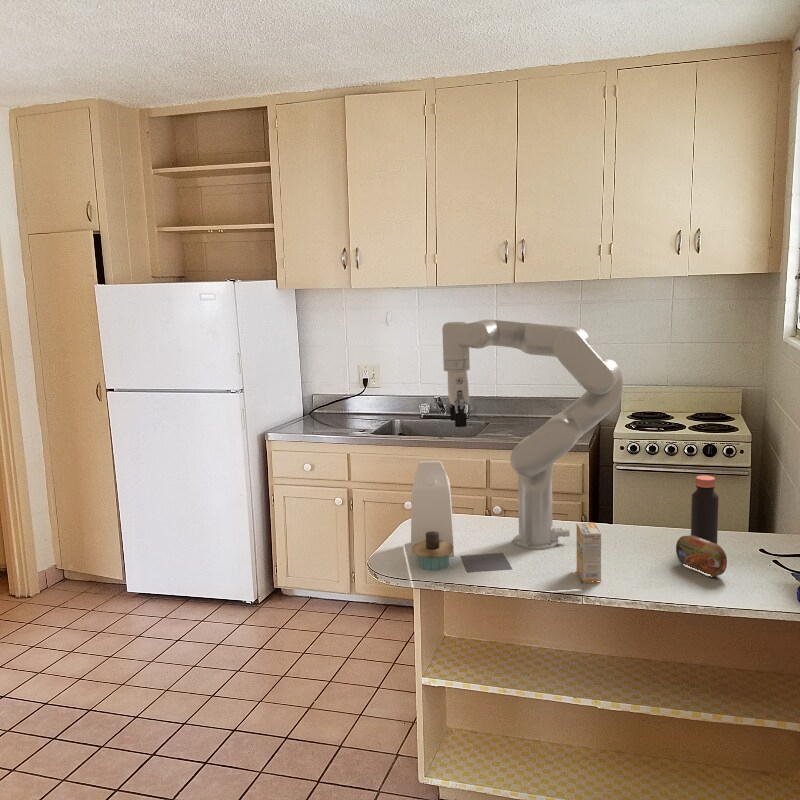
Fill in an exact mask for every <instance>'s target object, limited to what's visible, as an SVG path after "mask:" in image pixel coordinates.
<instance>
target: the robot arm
mask: <svg viewBox="0 0 800 800" xmlns="http://www.w3.org/2000/svg"><path fill="white" fill-rule="evenodd" d="M441 331H442V356H443V357H442V359H443V363H442V364H443V371H444V372H447V393H448V395H447V396H448V401H449V402H450V403H449V405H450V407H449V415H450V416H449V417H450V418H449V419H450V421H451V422H452V421H453V422H454V426H455V427H456V428H465V427H467V411H466V406H469V405H470V393H469V377H468V371H470V370H471V365H470V363H471V362H470V349H484V348H486V347H489V346H497V347H503V348H504V347H506V348H512V349H517V350H520V351H521V352H523V353H525V354H528V355H533V356H545V357H554V358H557V360H558V361H559V362H560V364H561V365H562V366H563V367H564V368H565V369H566V370H567V372H568V373H569V374H570V375H571V376H573V378H574V380H576V381H577V382H578V384H579V385H580V386H581V387H582V388H583V389H584V390H585V392H584V393H583V394H582V395H580V397H578V398H577V399H576V400H575V401H574V402H573V403H571V404H570V405H568V406H567V407H566V408H564V409H563V410H562V411H560V412H558V413H557V414H555V415H553V416H552V417H550V418H549V419H548V420H547V421H546V422H545V423H544V424H542V426H540V427H539V428H538V429H536V430H535V431H534V432H532V433H531V434H529V435H528V436H525V437H524V438H523V439H521V441H519V443H518V444H516V445H515V447H514V448H513V449H512V451H511V453H510V459H509V460H510V466H511V468H512V470H513V471H514V472H515V473H516V474H518V478H517V479H518V482H517V487H518V490H517V494H518V496H517V498H518V500H517V501H518V534H517V535H515V536H514V537H513V543H514V545H515V546H517V547H519V548H522V549H526V550H536V551H537V550H539V551H540V550H548V549H552V548H556V547H557V546H558V545H559V539H558V538H559V537H560V538H561V537H566V538H567V537H570V530H569V529H563V528H562V527H560V528H559V527H558V528H555V527H554V526H553V472H554V470H553V469H554V463H555V462H556V461H558V460H559V459H560V458H562V457H563V456H564V455H566V454H567V453H568V452H570V450H572V449H573V447H574V446H575V445H576V444H577V442H579V439H580V438H582V436H584V435H585V434H586V433H587V432H589V431H591V430H592V429H593V428H594V427H595V426H596V425H597V424H599V423H600V422H601V421H602V420H603V419H605V418H607V416H609V414H610V413H611V412H612V410H614V409H615V407H616V406H617V404H618V402H619V400H620V399H621V396H622V392H623V384H624V383H623V382H624V381H623V374H622V370H621V368H620V366H619V365H618V363H616V361H614V360H613V359H610V358H604V357H603V358H601V357H600V355H598V354H597V353H596V351H595V350H593V348H592V347H591V345H590V337H589V335H588V333H587V332H586V331H585V330H584V329H582V328H579V327H574V326H565V325H556V324H555V325H552V324H543V323H541V324H540V323H533V322H532V323H531V322H520V321H509V320H499V319H483V320H479V321H474V322H469V323H468V322H465V321H450V322H445V323H444V324H443V326H442V329H441Z"/></svg>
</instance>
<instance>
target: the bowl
mask: <svg viewBox="0 0 800 800" xmlns="http://www.w3.org/2000/svg"><path fill="white" fill-rule="evenodd" d="M449 557H450V556H448V555H446V556H443V557H436V558H427V557H421V556H417V560H418V561H417V563H418V565H417V566H418V567H419V568H420V569H423V570H425V571H426V570H427V571H440V570H443V569H446V568H447V567H448V566H450V562H449V561H450V559H449Z"/></svg>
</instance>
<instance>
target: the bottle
mask: <svg viewBox="0 0 800 800" xmlns="http://www.w3.org/2000/svg"><path fill="white" fill-rule="evenodd" d="M715 486H716V478H715V477H714V476H712V475H711V476H710V475H698V476H696V477H695V487H696V490H695V491H694V492H693V493H692V494H691V505H690V506H691V509H690V510H691V512H690V513H691V514H690V517H691V519H690V535H693V536H697V537H699V538H702V539H704V540H707V541H710V542H712V543H715V544H717V545H718V531H719V530H718V527H719V495H718V494H717V493H716V491H714V489H715V488H716V487H715Z"/></svg>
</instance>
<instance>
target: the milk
mask: <svg viewBox="0 0 800 800" xmlns="http://www.w3.org/2000/svg"><path fill="white" fill-rule="evenodd" d="M411 489H412V490H411V506H410V509H411V510H410V511H411V514H410V517H411V518H410V519H411V521H410V534H411V535H410V557H418V556H417V555H415V554H414V553H413V552H412V547H413V545H415V544H416V543H419V542H422V541H426V533H427V532H432V531H434V532H438V533H439V540H440V541H446V542H449V543H451V544H452V545H453V552H452V553H451V554H449V555H448V556H449V557H455V536H454V535H455V534H454V520H453V508H452V506H453V505H452V495H451V494H452V492H451V483H450V478H449V476H448V474H447V471H446V470H445V467H444V465H443V463H442V461H441V460H425V461H424V460H423V461H421V460H420V461H418V464H417V468H416V470H415V474H414V478H413V484H412V488H411Z"/></svg>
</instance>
